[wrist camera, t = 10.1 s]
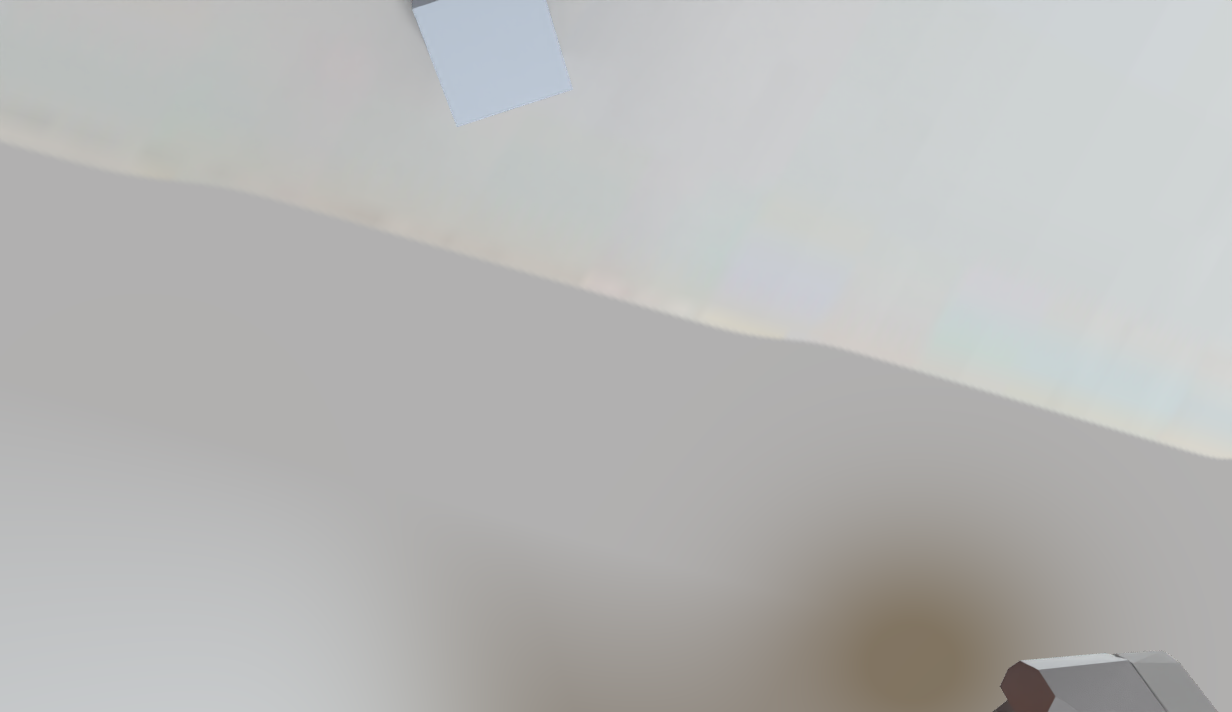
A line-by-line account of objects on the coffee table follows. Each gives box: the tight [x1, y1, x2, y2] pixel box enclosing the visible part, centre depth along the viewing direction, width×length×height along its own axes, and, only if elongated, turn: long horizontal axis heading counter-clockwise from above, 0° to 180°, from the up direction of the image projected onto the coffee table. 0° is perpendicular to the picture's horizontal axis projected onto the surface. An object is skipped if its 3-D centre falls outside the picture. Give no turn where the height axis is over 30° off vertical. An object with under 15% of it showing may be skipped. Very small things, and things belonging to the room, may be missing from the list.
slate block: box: [412, 0, 573, 127], centre depth 35 cm, size 4×4×4 cm
